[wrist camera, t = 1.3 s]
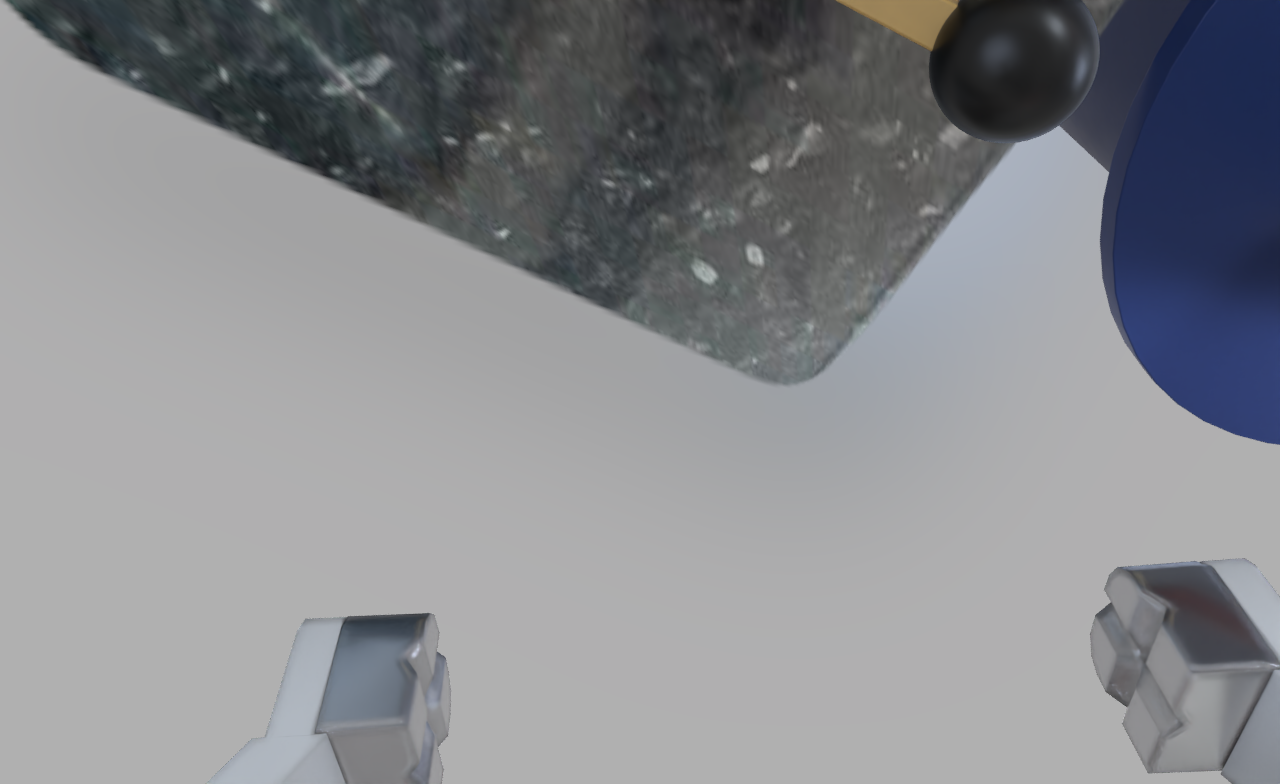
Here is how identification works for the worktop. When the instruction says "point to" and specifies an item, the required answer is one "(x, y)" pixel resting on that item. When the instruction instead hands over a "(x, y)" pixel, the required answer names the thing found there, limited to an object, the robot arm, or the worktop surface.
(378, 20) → the worktop surface
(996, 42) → the tap lever
